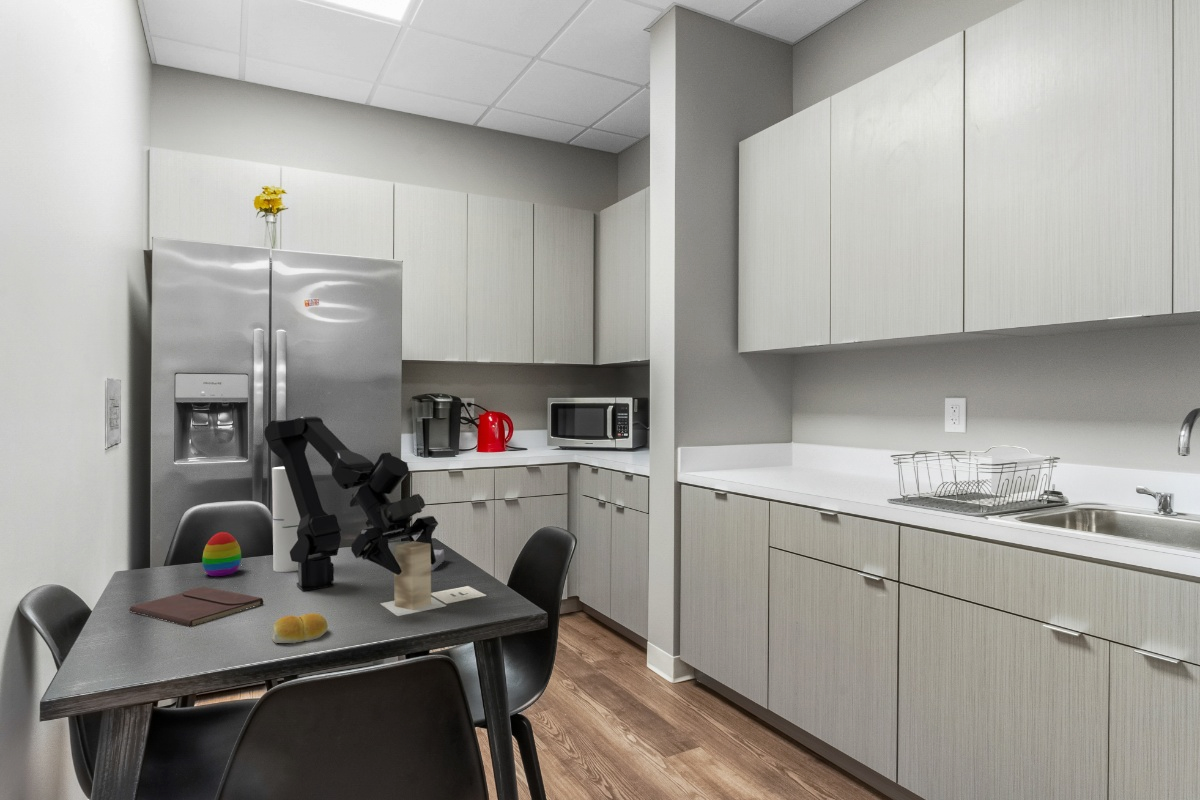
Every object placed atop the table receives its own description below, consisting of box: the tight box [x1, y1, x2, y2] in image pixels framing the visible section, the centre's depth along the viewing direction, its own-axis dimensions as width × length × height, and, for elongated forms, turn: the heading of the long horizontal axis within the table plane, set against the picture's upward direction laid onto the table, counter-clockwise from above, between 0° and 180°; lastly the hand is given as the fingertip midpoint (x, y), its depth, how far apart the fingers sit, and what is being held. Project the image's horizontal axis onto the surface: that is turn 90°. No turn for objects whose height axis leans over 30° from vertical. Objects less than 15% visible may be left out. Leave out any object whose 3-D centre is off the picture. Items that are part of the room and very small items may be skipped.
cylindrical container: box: [271, 466, 300, 573], centre depth 166 cm, size 7×7×25 cm
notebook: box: [128, 586, 264, 628], centre depth 134 cm, size 15×20×2 cm
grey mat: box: [379, 596, 447, 617], centre depth 134 cm, size 10×10×1 cm
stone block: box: [431, 549, 446, 572], centre depth 166 cm, size 12×5×10 cm
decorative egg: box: [202, 531, 242, 577], centre depth 161 cm, size 8×8×10 cm
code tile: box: [431, 585, 487, 605], centre depth 141 cm, size 9×9×1 cm
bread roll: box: [270, 612, 329, 644], centre depth 118 cm, size 8×9×4 cm
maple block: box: [393, 541, 432, 610], centre depth 134 cm, size 5×5×12 cm
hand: (417, 568), depth 133 cm, fingers open, 9 cm apart
